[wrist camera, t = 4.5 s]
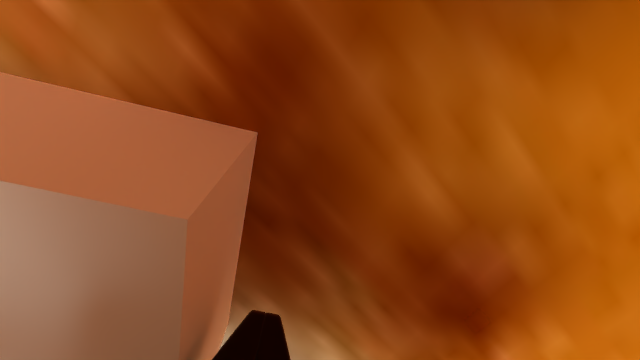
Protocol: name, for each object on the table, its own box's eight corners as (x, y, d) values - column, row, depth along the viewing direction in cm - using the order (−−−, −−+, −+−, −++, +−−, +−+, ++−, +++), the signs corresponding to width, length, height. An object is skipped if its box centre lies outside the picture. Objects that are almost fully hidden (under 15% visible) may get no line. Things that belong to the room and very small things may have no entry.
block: (229, 318, 12) (171, 483, 7) (-4, 274, 11) (-228, 428, 7) (259, 130, 9) (187, 220, 4) (-67, 52, 8) (-576, 61, 4)
